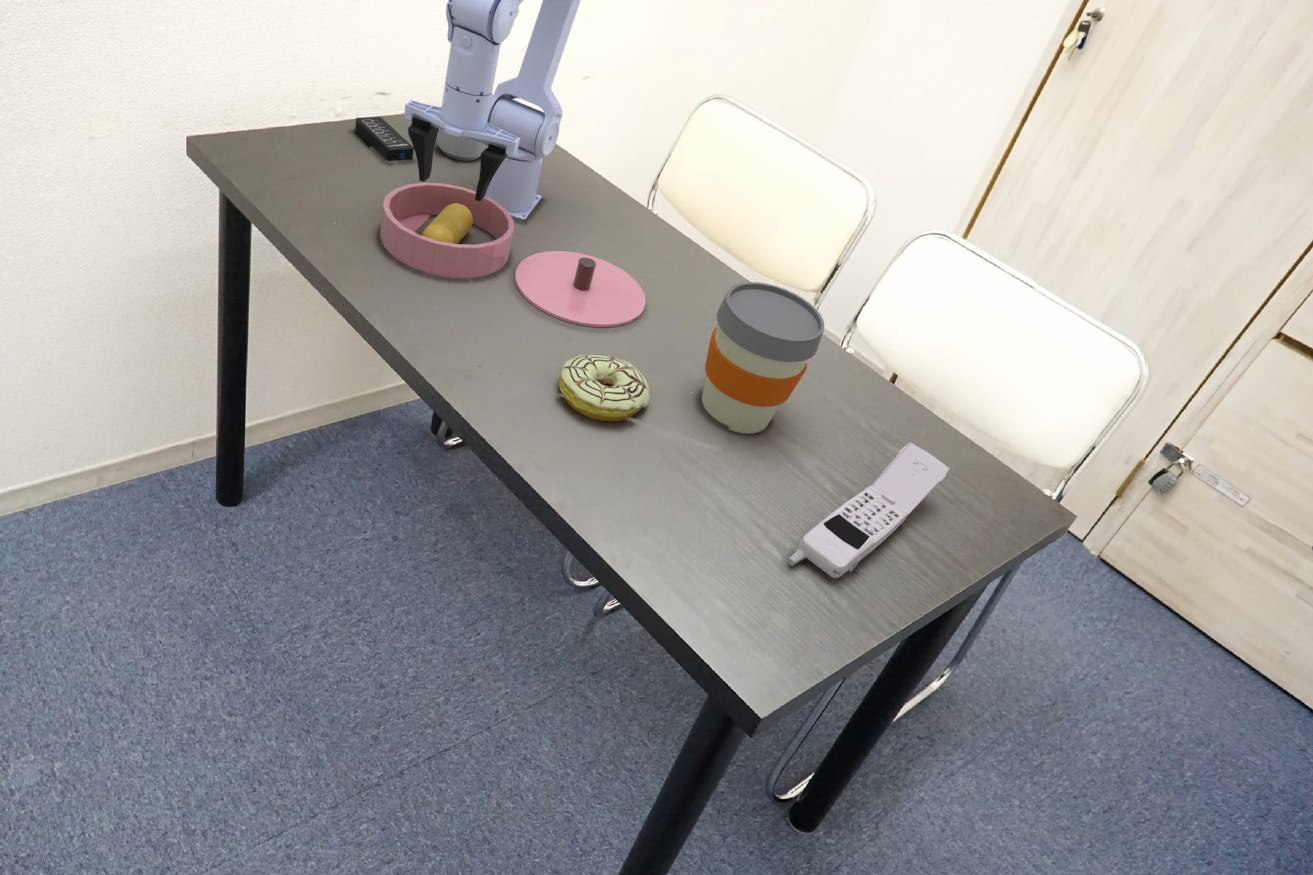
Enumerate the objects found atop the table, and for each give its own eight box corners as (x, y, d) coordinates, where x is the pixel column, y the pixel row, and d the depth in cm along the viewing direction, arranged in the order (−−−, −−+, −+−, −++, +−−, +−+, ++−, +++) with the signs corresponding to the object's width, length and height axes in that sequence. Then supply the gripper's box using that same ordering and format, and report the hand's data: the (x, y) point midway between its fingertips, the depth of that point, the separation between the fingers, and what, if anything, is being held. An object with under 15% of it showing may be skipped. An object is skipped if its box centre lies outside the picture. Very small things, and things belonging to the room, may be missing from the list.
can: (488, 150, 158) (499, 79, 151) (476, 167, 152) (488, 94, 145) (443, 137, 157) (453, 65, 150) (430, 153, 151) (439, 79, 144)
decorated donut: (661, 415, 114) (670, 390, 112) (592, 437, 108) (600, 412, 105) (608, 365, 119) (616, 340, 117) (539, 383, 113) (546, 358, 110)
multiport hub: (379, 130, 153) (380, 116, 152) (413, 162, 148) (415, 148, 146) (353, 131, 150) (354, 117, 149) (387, 164, 145) (388, 149, 144)
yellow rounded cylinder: (445, 222, 135) (449, 194, 132) (474, 232, 135) (479, 204, 132) (411, 259, 125) (415, 229, 123) (443, 270, 125) (447, 240, 123)
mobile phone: (953, 467, 112) (847, 556, 94) (931, 504, 115) (825, 596, 98) (910, 439, 114) (799, 520, 97) (890, 475, 118) (780, 560, 100)
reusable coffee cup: (717, 448, 112) (758, 345, 103) (670, 382, 120) (704, 281, 111) (801, 437, 119) (847, 339, 109) (751, 376, 126) (790, 279, 117)
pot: (410, 203, 138) (414, 170, 135) (523, 241, 138) (529, 209, 135) (358, 253, 124) (361, 218, 121) (483, 295, 124) (490, 261, 121)
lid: (536, 244, 138) (542, 213, 135) (654, 284, 138) (663, 255, 135) (495, 302, 124) (501, 269, 121) (628, 347, 124) (637, 315, 121)
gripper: (399, 74, 114) (387, 180, 121) (515, 114, 114) (495, 217, 122) (422, 61, 119) (408, 163, 127) (531, 99, 120) (511, 198, 127)
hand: (452, 188), depth 125 cm, fingers open, 7 cm apart
